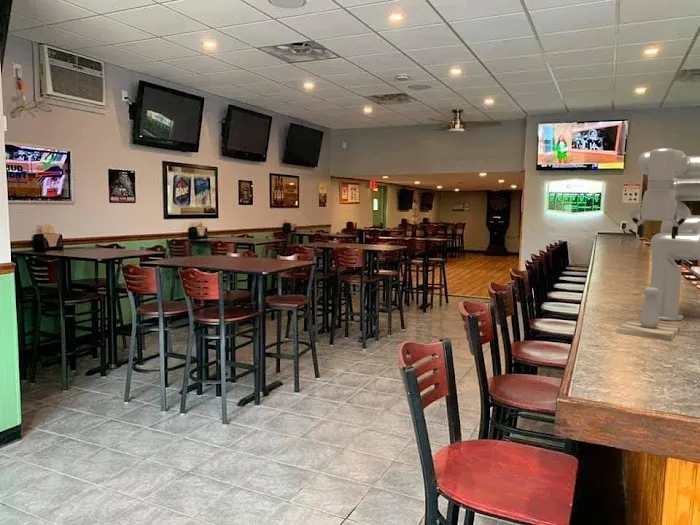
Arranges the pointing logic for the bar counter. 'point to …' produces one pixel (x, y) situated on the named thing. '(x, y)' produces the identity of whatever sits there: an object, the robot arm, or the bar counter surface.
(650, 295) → the salt shaker
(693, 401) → the bar counter surface
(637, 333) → the serving board
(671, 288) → the robot arm
